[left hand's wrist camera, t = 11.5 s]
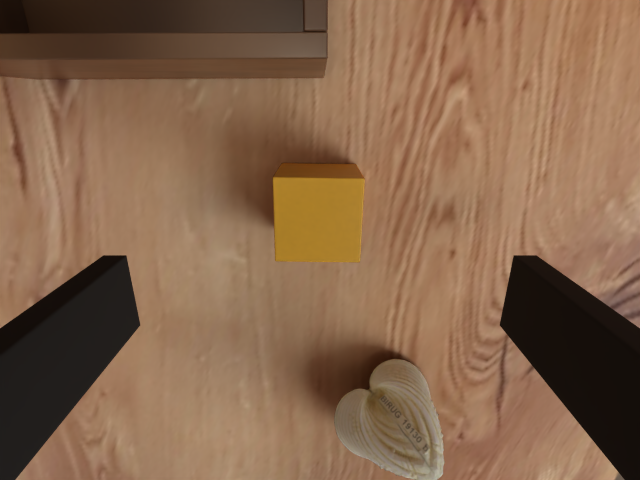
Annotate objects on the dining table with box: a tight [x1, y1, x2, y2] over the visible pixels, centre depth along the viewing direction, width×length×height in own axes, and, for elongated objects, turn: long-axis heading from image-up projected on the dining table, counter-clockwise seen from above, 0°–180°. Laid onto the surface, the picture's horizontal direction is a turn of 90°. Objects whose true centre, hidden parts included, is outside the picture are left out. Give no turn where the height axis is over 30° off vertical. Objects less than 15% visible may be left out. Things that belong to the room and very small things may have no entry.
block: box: [273, 163, 365, 262], centre depth 22 cm, size 5×5×5 cm
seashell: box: [334, 359, 444, 480], centre depth 28 cm, size 8×8×8 cm
